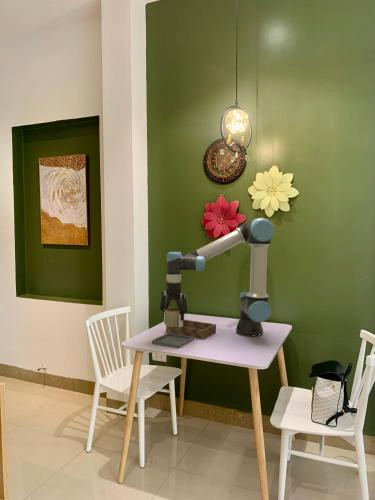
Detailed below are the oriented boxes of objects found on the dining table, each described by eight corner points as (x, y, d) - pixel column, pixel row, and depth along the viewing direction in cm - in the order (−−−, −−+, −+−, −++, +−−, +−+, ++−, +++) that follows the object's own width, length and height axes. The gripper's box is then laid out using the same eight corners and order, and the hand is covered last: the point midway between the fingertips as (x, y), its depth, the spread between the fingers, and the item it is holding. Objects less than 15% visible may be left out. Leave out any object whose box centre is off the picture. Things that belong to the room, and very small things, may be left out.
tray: (194, 340, 205) (194, 337, 205) (178, 348, 191) (178, 345, 191) (168, 335, 213) (168, 332, 213) (151, 343, 199) (151, 340, 199)
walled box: (216, 333, 219) (216, 324, 219) (203, 339, 206) (204, 330, 206) (179, 327, 231) (179, 318, 231) (166, 333, 218) (166, 324, 218)
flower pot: (183, 323, 206) (183, 307, 205) (181, 328, 196) (181, 311, 196) (165, 323, 207) (165, 307, 206) (162, 327, 197) (163, 311, 197)
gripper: (195, 282, 198) (194, 326, 200) (160, 279, 209) (160, 320, 210) (187, 284, 192) (187, 329, 193) (152, 281, 202) (152, 323, 204)
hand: (173, 325), depth 202 cm, fingers closed on flower pot, 8 cm apart
